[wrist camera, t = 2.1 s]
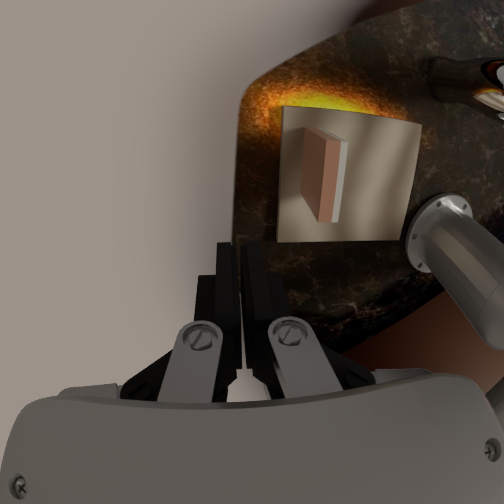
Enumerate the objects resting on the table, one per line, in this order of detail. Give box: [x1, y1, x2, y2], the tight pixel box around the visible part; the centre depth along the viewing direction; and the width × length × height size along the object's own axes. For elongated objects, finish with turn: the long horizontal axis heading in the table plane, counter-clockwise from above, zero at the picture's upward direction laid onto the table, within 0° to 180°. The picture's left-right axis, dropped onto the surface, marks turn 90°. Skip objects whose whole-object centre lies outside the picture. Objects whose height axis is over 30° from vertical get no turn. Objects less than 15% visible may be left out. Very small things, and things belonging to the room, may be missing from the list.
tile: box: [300, 127, 348, 222], centre depth 25 cm, size 2×7×7 cm, turn 179°
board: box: [276, 106, 422, 242], centre depth 30 cm, size 16×15×1 cm
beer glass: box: [427, 56, 504, 124], centre depth 17 cm, size 7×7×15 cm
